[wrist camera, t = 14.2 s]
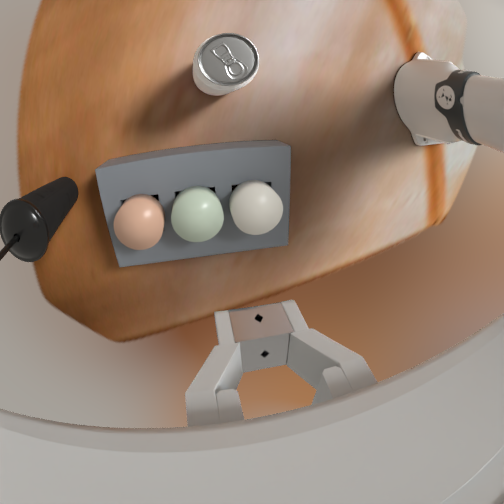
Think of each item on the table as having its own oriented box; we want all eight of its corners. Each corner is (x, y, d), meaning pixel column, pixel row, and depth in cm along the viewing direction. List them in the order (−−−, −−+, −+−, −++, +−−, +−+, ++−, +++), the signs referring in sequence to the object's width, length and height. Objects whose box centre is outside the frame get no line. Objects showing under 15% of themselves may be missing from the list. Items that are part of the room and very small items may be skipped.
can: (212, 105, 32) (221, 103, 22) (183, 71, 29) (178, 54, 19) (250, 78, 31) (276, 67, 21) (222, 44, 28) (236, 18, 18)
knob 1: (165, 178, 35) (158, 198, 28) (171, 218, 38) (167, 246, 31) (124, 185, 34) (108, 207, 27) (132, 223, 37) (120, 252, 30)
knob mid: (215, 172, 36) (221, 190, 29) (218, 212, 39) (225, 238, 32) (172, 177, 35) (167, 197, 28) (177, 217, 38) (175, 245, 31)
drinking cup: (45, 211, 33) (-23, 286, 16) (47, 165, 30) (-36, 220, 13) (84, 219, 36) (27, 303, 19) (89, 171, 32) (16, 233, 16)
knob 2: (264, 168, 37) (283, 185, 30) (265, 207, 40) (282, 231, 33) (222, 171, 36) (231, 189, 29) (225, 211, 39) (233, 237, 32)
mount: (276, 139, 36) (290, 146, 31) (276, 227, 44) (288, 245, 38) (108, 159, 32) (95, 169, 27) (127, 246, 40) (119, 267, 35)
